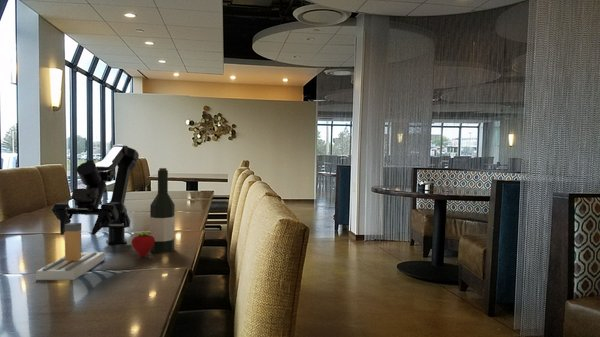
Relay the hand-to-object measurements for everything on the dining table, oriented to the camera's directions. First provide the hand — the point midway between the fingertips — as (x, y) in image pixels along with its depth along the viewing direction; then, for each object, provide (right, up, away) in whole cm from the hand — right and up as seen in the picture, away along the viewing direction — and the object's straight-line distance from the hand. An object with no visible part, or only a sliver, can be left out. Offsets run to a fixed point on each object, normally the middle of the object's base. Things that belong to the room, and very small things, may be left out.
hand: (77, 234), depth 121 cm
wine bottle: (+19, -10, +22) cm, 31 cm away
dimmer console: (0, -10, -2) cm, 10 cm away
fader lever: (0, -7, -2) cm, 8 cm away
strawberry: (+15, -10, +13) cm, 22 cm away
